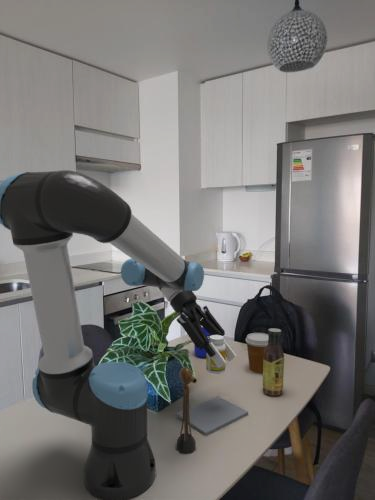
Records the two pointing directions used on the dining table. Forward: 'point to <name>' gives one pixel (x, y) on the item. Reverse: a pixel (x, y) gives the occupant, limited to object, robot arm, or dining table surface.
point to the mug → (202, 352)
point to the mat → (213, 415)
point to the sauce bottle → (273, 364)
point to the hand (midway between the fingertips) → (227, 361)
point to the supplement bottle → (221, 347)
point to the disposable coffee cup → (256, 350)
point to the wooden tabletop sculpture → (186, 415)
